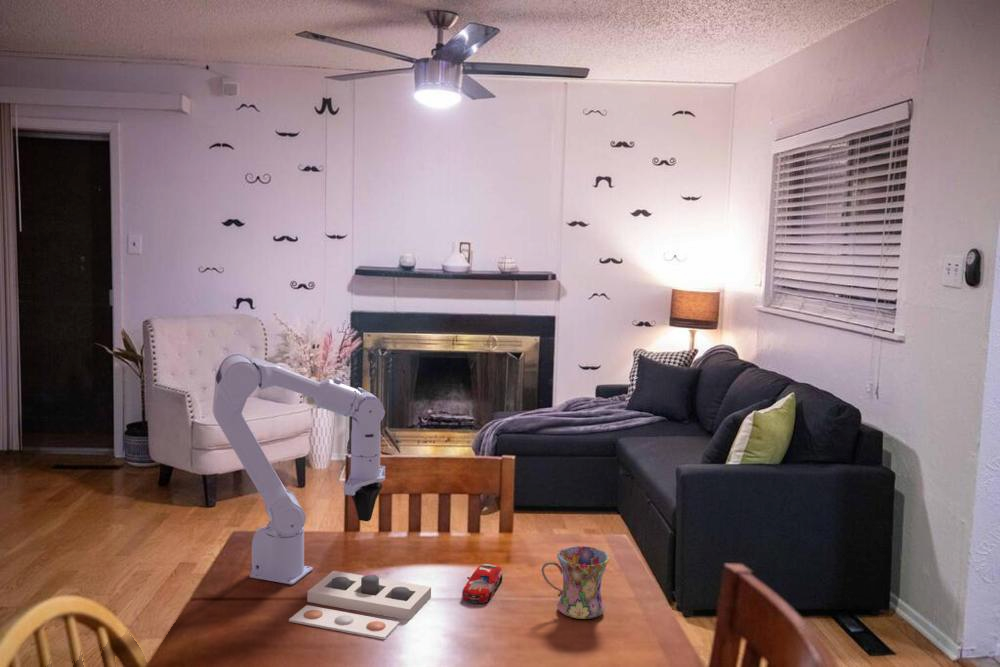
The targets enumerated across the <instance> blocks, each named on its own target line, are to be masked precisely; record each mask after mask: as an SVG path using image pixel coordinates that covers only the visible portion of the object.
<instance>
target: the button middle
mask: <svg viewBox="0 0 1000 667" xmlns="http://www.w3.org/2000/svg"><path fill="white" fill-rule="evenodd" d="M379 578H380V577H379V576H377V575H374V574H367V575H363V577H362V578H361V593H362V594H368V595H374V596H376V595H375V594H377V593H378V592H379Z"/></svg>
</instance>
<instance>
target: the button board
mask: <svg viewBox="0 0 1000 667" xmlns="http://www.w3.org/2000/svg"><path fill="white" fill-rule="evenodd" d="M363 576H364V575H363V574H362V575H361V574H356V573H351V572H350V573H349V572H344V571H338V570H333V571H331V572H330V573H329V574H327V575H326V576H325V577H324V578H323V579H321V580H320V581H319V582H317V583H315V585H314V586H312V587H311V588H309V589H308V590H307V591H306V592H307V595H306V596H307V599H306V600H307V601H306V602H307V603H312V604H318V605H324V606H327V607H328V606H329V607H335V608H340V609H344V610H350V611H351V610H352V611H356V612H362V613H367V614H372V615H379V616H385V617H390V618H396V619H399V620H407V621H410V620H412V618H414V616H415V615H416V614H417V613H418V612H419V611H420V610H421V608H422V607H424V606H425V604H427V603H428V602H429V600H430V599H431V597H432V586H428V585H427V586H426V585H421V584H416V583H409V582H404V581H403V582H402V581H399V580H398V581H397V580H392V579H387V578H380V577H379V592H378V593H377V594H375V595H368V594H362V593H361V578H362V577H363ZM336 577H346V578H348V579H349V588H348V589H347V590H346V591H345V590H340V589H334V588H332V579H333V578H336ZM395 587H406V588H408V589H409V599H408V600H407V601H402V600H397V599H391V590H392V589H393V588H395Z"/></svg>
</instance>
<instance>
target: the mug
mask: <svg viewBox="0 0 1000 667" xmlns="http://www.w3.org/2000/svg"><path fill="white" fill-rule="evenodd" d="M556 555H557V556H556V557H557V559H558V561H559V564H560V565H559V564H558V563H557V562H555V561H546V562H545V563H544V564H543V565H542V567H541V573H542V576H543V578H544V579H543V580H545V582H547V584H548V585H549V586H551V588H553V589H554V590H557V591H558V593H557V596H558V597H560V599H559V600H558V601H557V610H558V611H559V612H561V613H562V614H563V615H565V616H567V617H569V618H575V619H580V620H581V619H583V620H588V619H594V618H597V617H600V616H601V615H603V613H604V611H605V605H604V603H603V600H602V594H601V591H602V590H601V588H602V587H601V586H602V585H601V584H602V579H603V575H604V573H605V571H606V570H605V569H606V568H607V566H608V564H609V561H610V556H609V554H608V553H607V552H605V551H604V550H602V549H600V548H599V549H598V548H596V547H591V546H584V545H583V546H582V545H574V546H567V547H564V548H561V549H560V550H559V551H558V552H557V554H556ZM549 565H553V566H556V567H557V568H558V570H559V572H560V574H561V575H562V581H563V582H562V586H563V587H562V589H561V588H560V587H558V586H556V585H555V584H553V583H552V582H551V581H550V580H549V579H548V577H547V576H546V574H545V567H547V566H549Z"/></svg>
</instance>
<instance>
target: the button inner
mask: <svg viewBox="0 0 1000 667" xmlns="http://www.w3.org/2000/svg"><path fill="white" fill-rule="evenodd" d="M332 588H334V589H340V590H345V591H346V590H347V589H348V588H349V579H348V578H346V577H336V578H333V579H332Z"/></svg>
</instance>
